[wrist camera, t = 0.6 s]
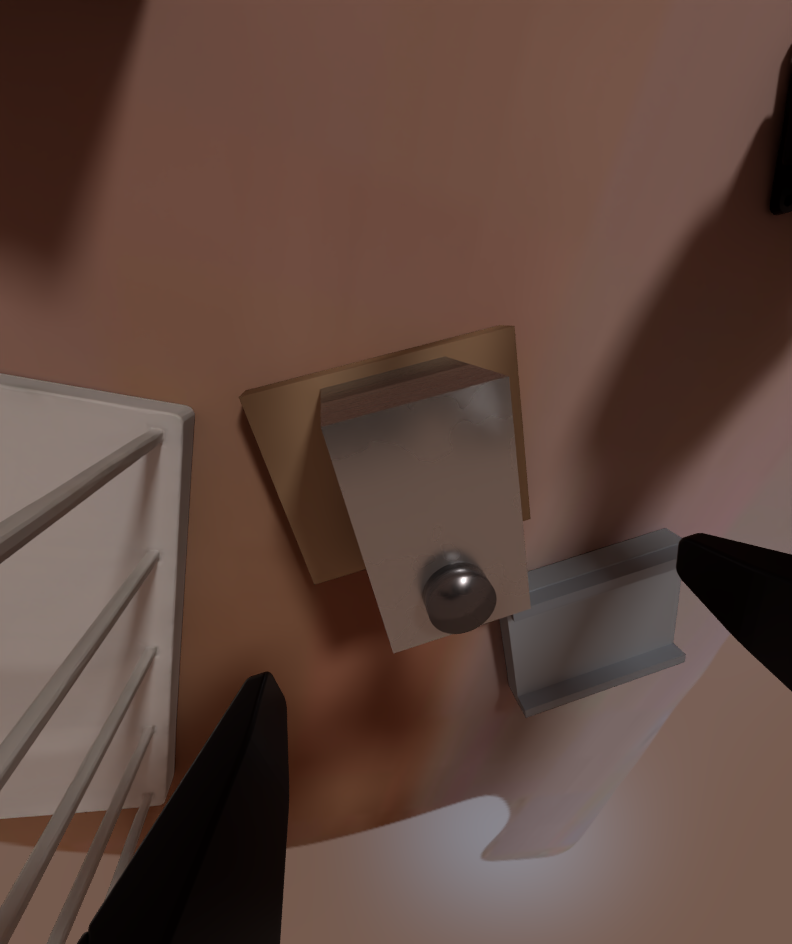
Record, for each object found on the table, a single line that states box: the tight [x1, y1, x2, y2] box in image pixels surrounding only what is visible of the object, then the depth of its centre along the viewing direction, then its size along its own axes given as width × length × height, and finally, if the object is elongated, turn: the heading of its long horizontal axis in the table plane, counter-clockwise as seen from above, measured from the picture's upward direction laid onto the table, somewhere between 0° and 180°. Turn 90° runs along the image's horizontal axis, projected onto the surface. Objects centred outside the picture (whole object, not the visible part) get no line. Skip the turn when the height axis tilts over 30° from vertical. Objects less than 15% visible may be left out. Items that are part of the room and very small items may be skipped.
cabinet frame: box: [500, 528, 686, 718], centre depth 25 cm, size 12×10×2 cm
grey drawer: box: [321, 356, 531, 653], centre depth 15 cm, size 6×9×7 cm, turn 13°
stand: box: [239, 325, 530, 585], centre depth 18 cm, size 12×10×2 cm
